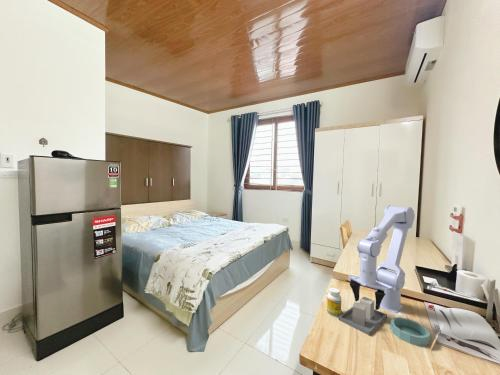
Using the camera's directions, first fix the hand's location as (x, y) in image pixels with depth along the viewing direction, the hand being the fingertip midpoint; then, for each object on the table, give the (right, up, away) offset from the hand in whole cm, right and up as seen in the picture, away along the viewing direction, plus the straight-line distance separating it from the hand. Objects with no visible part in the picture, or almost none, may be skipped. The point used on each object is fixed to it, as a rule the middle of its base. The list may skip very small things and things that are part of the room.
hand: (366, 304), depth 85 cm
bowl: (+9, -5, -11) cm, 15 cm away
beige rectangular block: (0, -4, 0) cm, 4 cm away
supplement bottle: (-13, -5, +1) cm, 14 cm away
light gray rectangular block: (-5, -4, -4) cm, 8 cm away
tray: (-3, -5, -2) cm, 6 cm away
